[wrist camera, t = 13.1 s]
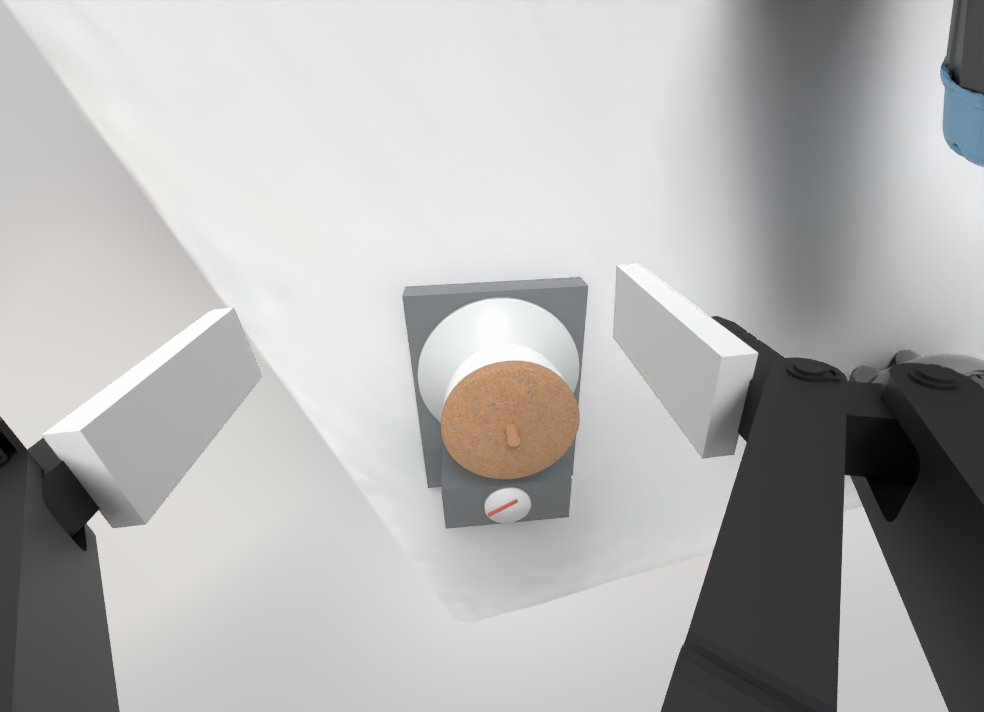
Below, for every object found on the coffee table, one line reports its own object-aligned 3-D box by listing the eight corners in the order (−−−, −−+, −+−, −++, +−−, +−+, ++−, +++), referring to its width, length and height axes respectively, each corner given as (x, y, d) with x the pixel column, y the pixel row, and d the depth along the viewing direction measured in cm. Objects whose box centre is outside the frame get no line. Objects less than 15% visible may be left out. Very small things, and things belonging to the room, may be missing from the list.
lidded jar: (538, 305, 36) (564, 356, 28) (570, 401, 41) (600, 469, 33) (422, 348, 37) (415, 410, 29) (467, 437, 42) (472, 511, 34)
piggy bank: (949, 388, 50) (1077, 453, 39) (821, 439, 52) (912, 515, 41) (954, 309, 44) (1102, 361, 34) (812, 370, 46) (913, 436, 36)
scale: (580, 277, 39) (613, 314, 31) (566, 460, 49) (589, 522, 41) (405, 286, 38) (393, 327, 30) (429, 471, 48) (425, 538, 40)
